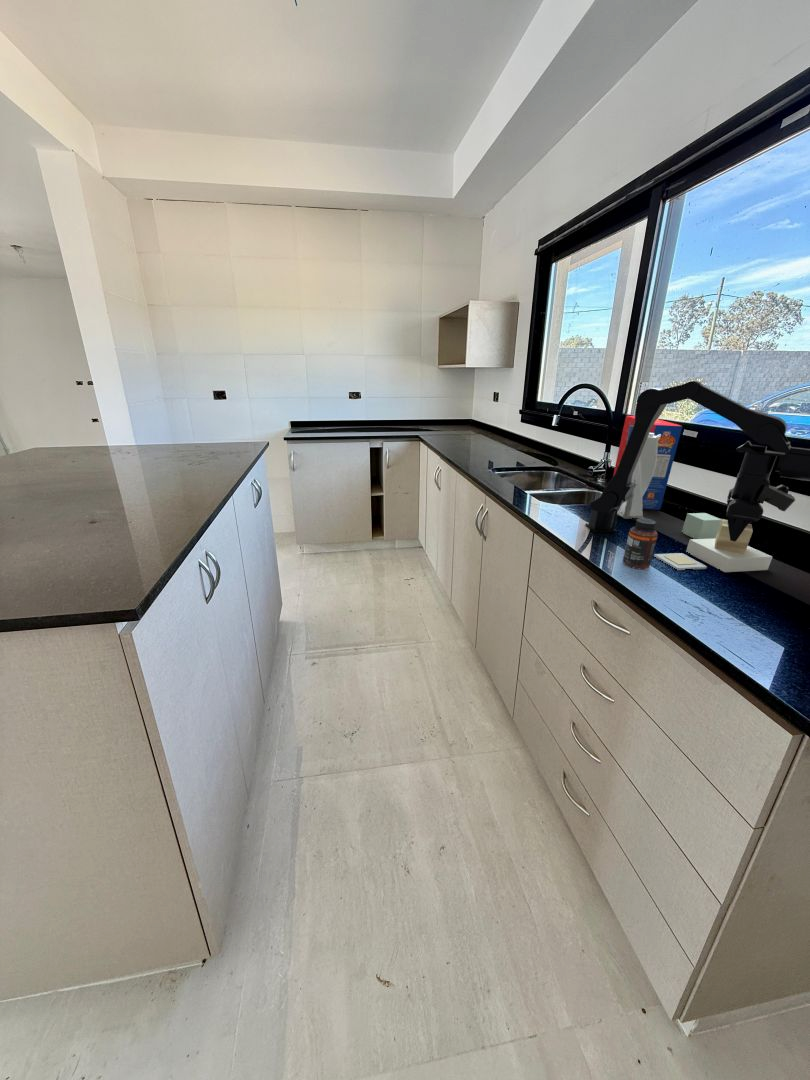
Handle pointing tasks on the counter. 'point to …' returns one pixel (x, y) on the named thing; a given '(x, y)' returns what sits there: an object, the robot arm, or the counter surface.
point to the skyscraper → (641, 479)
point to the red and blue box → (664, 458)
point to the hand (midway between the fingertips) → (732, 535)
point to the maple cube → (732, 546)
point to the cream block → (728, 557)
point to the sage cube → (701, 526)
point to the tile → (680, 561)
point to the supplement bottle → (640, 544)
